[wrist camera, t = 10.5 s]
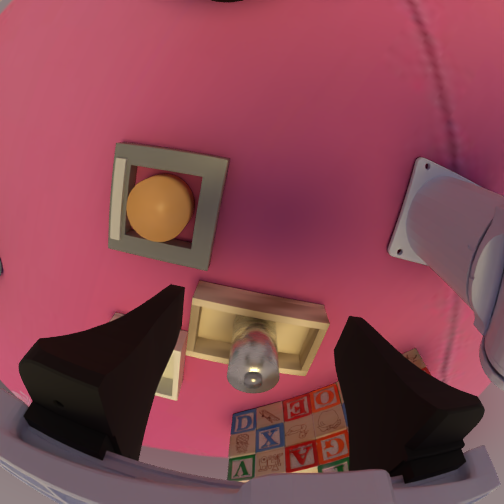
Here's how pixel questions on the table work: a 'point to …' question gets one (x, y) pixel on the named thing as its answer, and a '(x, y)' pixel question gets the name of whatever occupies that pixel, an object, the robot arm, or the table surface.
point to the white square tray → (171, 368)
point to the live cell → (253, 355)
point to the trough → (262, 307)
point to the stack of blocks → (294, 434)
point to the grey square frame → (207, 209)
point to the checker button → (160, 207)
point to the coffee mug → (226, 0)
